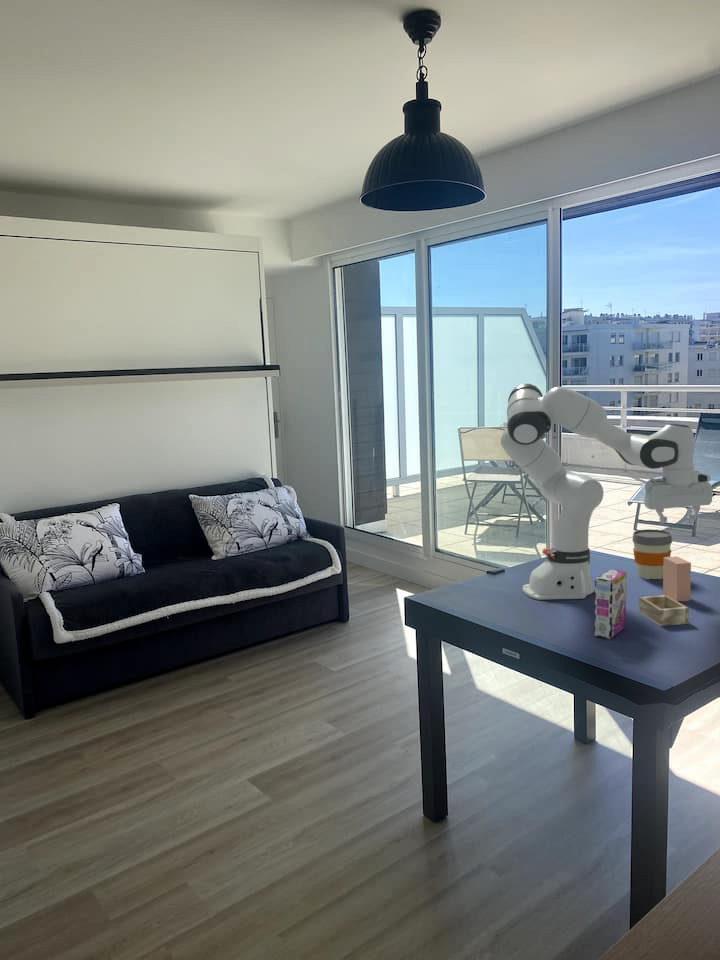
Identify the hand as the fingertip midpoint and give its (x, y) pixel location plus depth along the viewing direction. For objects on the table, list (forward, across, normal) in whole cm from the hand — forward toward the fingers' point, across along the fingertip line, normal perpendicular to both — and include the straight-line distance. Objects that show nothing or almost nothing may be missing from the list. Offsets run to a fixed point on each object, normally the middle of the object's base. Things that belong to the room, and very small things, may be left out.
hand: (677, 521), depth 223 cm
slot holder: (+24, -13, -16) cm, 32 cm away
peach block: (+24, 0, 0) cm, 24 cm away
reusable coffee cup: (+24, +4, +23) cm, 34 cm away
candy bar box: (+24, -32, -23) cm, 46 cm away
